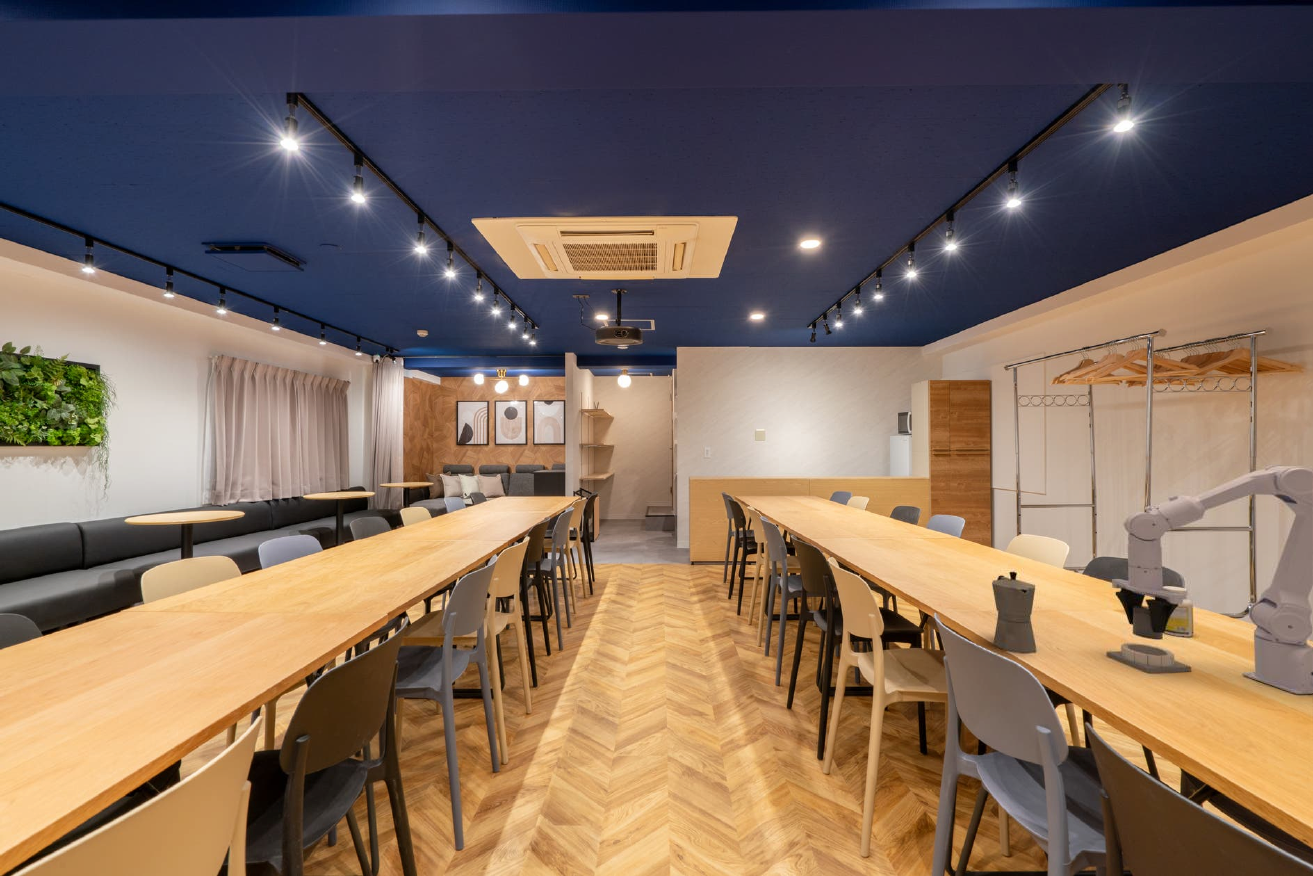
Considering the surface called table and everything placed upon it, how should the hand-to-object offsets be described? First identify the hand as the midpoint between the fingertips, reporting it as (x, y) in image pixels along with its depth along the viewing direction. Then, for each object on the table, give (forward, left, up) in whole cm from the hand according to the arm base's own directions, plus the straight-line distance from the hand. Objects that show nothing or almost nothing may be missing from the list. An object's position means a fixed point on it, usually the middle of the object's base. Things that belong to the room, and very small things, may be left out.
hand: (1146, 628), depth 124 cm
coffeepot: (+14, +21, -8) cm, 26 cm away
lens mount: (0, 0, -8) cm, 8 cm away
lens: (0, 0, -2) cm, 2 cm away
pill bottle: (+18, -27, -8) cm, 33 cm away
